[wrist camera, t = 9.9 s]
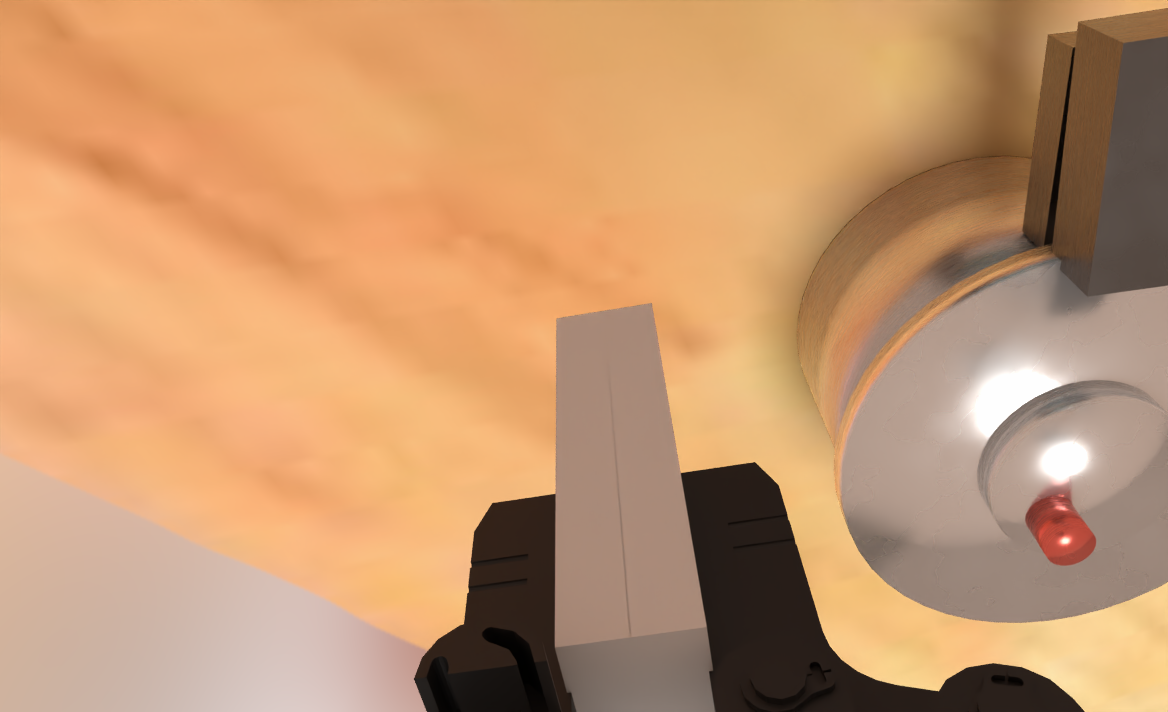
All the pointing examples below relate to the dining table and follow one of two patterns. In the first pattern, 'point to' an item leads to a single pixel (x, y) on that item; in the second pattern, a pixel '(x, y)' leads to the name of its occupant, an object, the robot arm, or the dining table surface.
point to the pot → (929, 245)
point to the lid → (1037, 383)
